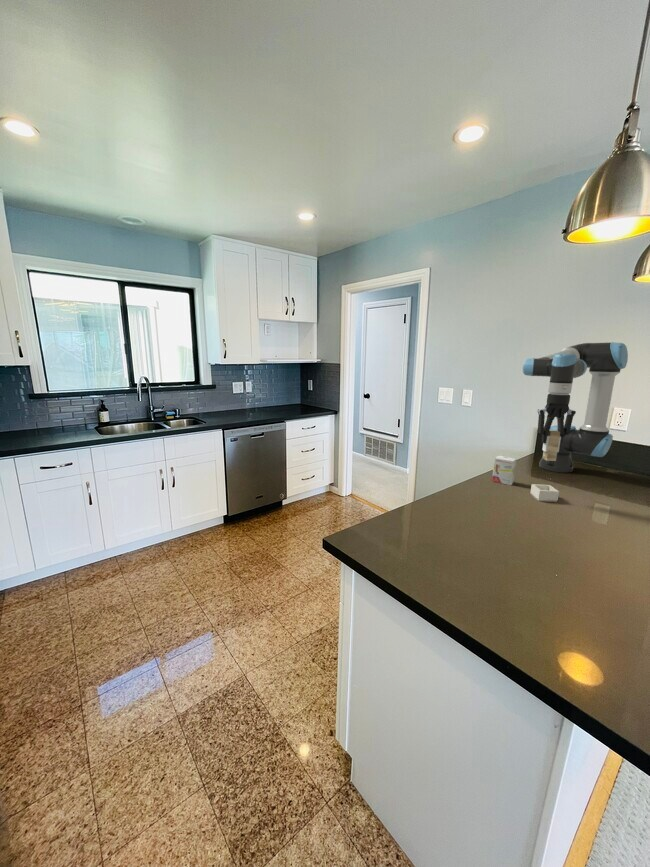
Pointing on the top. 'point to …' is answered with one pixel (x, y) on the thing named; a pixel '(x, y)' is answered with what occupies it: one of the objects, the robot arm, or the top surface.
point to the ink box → (504, 470)
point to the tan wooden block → (552, 446)
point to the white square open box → (544, 493)
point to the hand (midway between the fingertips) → (550, 451)
